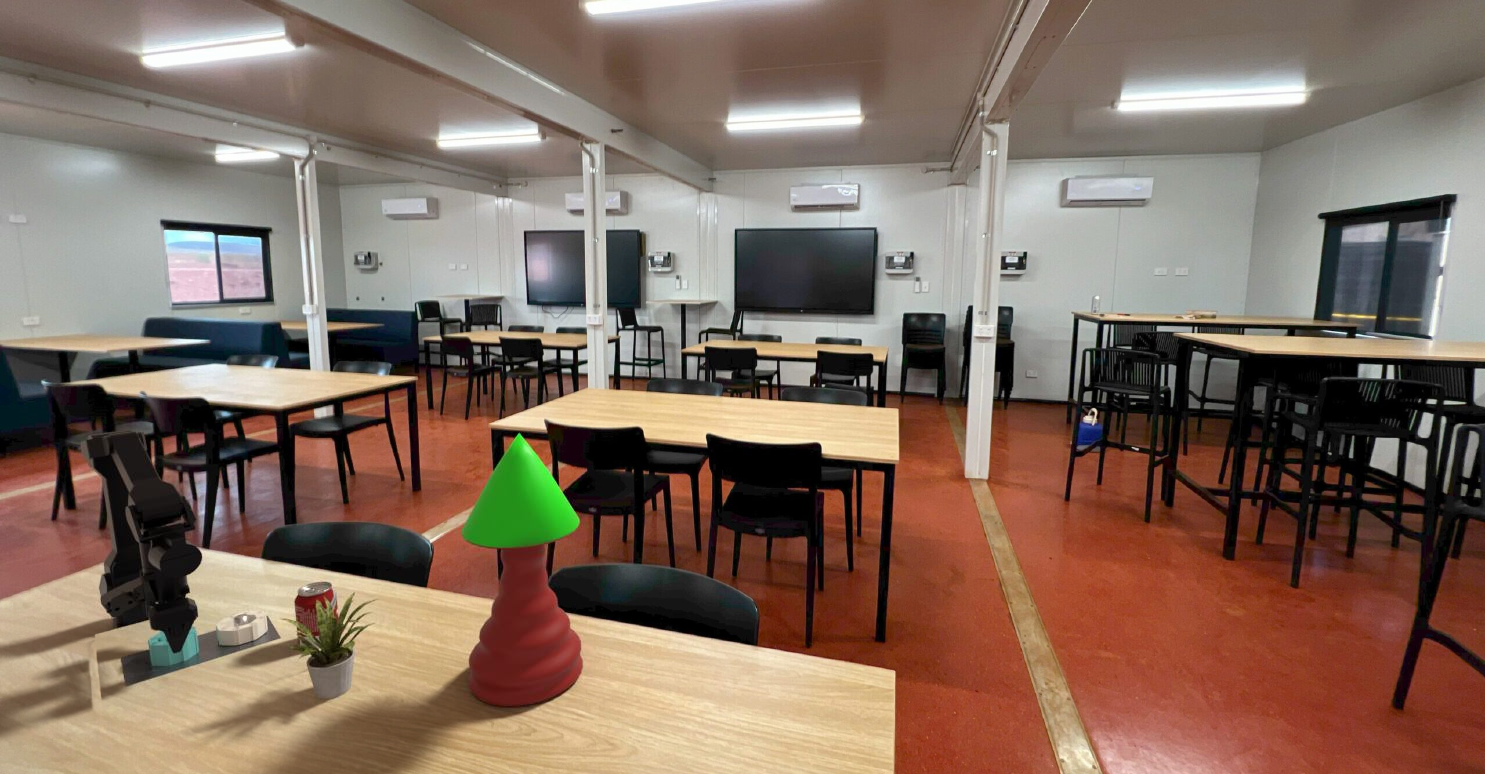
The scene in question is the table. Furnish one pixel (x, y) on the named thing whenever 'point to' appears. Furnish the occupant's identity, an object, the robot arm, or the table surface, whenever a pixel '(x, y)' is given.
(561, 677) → the table lamp
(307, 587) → the soda can
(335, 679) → the house plant
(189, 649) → the teal blocky piece
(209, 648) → the gear board
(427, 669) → the table surface
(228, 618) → the cream gear
